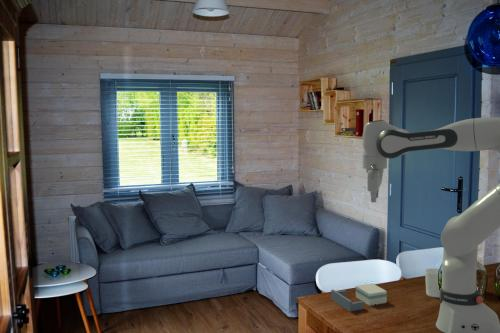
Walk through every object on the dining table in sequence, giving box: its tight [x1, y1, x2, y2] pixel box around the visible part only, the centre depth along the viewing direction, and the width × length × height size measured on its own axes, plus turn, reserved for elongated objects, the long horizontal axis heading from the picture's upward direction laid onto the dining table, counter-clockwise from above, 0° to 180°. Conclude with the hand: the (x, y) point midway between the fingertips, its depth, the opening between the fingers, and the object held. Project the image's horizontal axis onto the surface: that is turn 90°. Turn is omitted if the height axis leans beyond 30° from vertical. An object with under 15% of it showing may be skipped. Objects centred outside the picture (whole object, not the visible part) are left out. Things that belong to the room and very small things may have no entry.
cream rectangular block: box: [355, 283, 388, 307], centre depth 201 cm, size 8×10×5 cm
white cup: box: [424, 268, 440, 299], centre depth 205 cm, size 8×8×10 cm
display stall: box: [330, 289, 365, 313], centre depth 197 cm, size 6×14×4 cm, turn 21°
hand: (374, 199), depth 187 cm, fingers open, 8 cm apart
